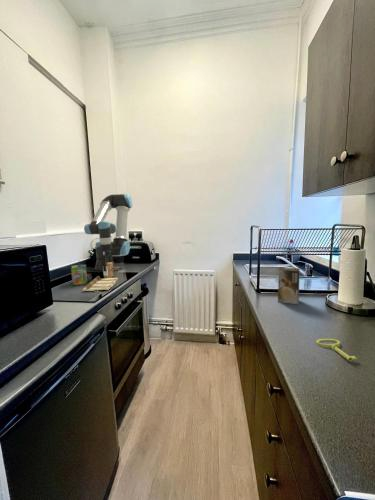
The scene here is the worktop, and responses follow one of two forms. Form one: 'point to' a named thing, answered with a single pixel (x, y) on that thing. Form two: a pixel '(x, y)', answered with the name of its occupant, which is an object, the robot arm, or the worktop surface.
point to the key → (335, 348)
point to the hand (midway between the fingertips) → (108, 273)
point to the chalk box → (79, 274)
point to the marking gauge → (111, 270)
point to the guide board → (100, 284)
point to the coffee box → (288, 285)
